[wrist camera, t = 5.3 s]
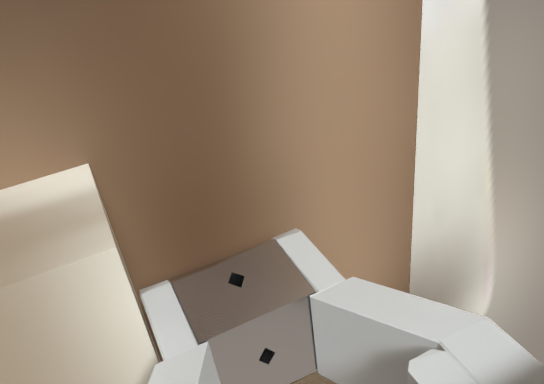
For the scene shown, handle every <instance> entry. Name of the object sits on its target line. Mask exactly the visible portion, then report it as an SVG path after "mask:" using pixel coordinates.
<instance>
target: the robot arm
mask: <svg viewBox="0 0 544 384" xmlns="http://www.w3.org/2000/svg"><path fill="white" fill-rule="evenodd" d="M139 292H140V297H141V300H142V303H143V306H144V308H145V311H146V314H147V317H148V319H149V322H150V325H151V328H152V331H153V333H154V336H155V339H156V342H157V345H158V347H159V350H160V353H161V356H162V358H163V361H162V362H160V363H158V364H155V365H154V368H153V370H152V373H151V376H150V379H149V381H148V384H290V383H292V382H294V381H297V380H299V379H301V378H303V377H305V376H307V375H310V374H312V373H314V372H316V371H318V374H320V375H322V376H324V377H326V378H328V379H329V380H331V381H333V382H335V383H337V384H544V366H543V365H542V364H541V363H540V362H539V361H538V360H537V359H535V358H534V357H533V356H532V355H531V354H530V353H528V352H527V351H526V350H525V349H524V348H523V347H522V346H520V345H519V344H518V343H517V342H516V341H515V340H514V339H513V338H511V337H510V336H509V335H508V334H507V333H506V332H504V331H503V330H502V329H501V328H500V327H499V326H498V325H496V324H495V323H494V322H493V321H492V320H491V319H490V318H488V317H485V316H482V315H478V314H475V313H472V312H468V311H465V310H462V309H459V308H455V307H452V306H449V305H445V304H442V303H439V302H435V301H432V300H429V299H426V298H422V297H419V296H416V295H412V294H409V293H406V292H402V291H399V290H396V289H393V288H389V287H386V286H383V285H379V284H376V283H373V282H369V281H366V280H363V279H360V278H356V277H351V278H349V279H347V280H346V279H345V278H344V277H343V276H342V275H341V274H340V273H339V271H338V270H337V269H336V268H335V267H334V266H333V265H332V264H331V263H330V262H329V260H328V259H327V258H326V257H325V256H324V255H323V254H322V253H321V252H320V251H319V250H318V248H317V247H316V246H315V245H314V244H313V243H312V242H311V241H310V240H309V239H308V237H307V236H306V235H305V234H304V233H303V232H302V231H301V230H299V229H297V228H295V229H293V230H290V231H288V232H285V233H283V234H281V235H278V236H276V237H273V238H272V239H271V240H268V241H265V242H263V243H260V244H258V245H255V246H253V247H250V248H248V249H245V250H243V251H240V252H238V253H235V254H233V255H231V256H228V257H226V258H223V259H220V260H218V261H215V262H212V263H210V264H207V265H204V266H202V267H199V268H196V269H193V270H191V271H188V272H185V273H183V274H180V275H177V276H175V277H172V278H169V281H168V280H165V281H163V282H160V283H157V284H155V285H152V286H149V287H147V288H144V289H141V290H139Z"/></svg>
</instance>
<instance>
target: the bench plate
mask: <svg viewBox="0 0 544 384" xmlns="http://www.w3.org/2000/svg"><path fill="white" fill-rule="evenodd" d="M421 20H422V0H0V190H2V189H5V188H8V187H12V186H15V185H18V184H22V183H25V182H28V181H32V180H35V179H38V178H41V177H45V176H48V175H51V174H55V173H58V172H61V171H64V170H68V169H71V168H74V167H78V166H81V165H84V164H89V167H90V170H91V172H92V175H93V178H94V180H95V183H96V186H97V189H98V191H99V194H100V197H101V200H102V202H103V205H104V208H105V210H106V213H107V216H108V219H109V221H110V224H111V227H112V230H113V232H114V235H115V238H116V240H117V243H118V246H119V249H120V251H121V254H122V257H123V260H124V262H125V265H126V268H127V271H128V273H129V276H130V279H131V281H132V284H133V287H134V290H135V292H136V295H137V298H138V301H139V303H140V306H141V309H142V311H143V314H144V317H145V320H146V322H147V325H148V328H149V331H150V333H151V336H152V339H153V341H154V344H155V347H156V350H157V352H158V355H159V358H160V361H161V362H162V361H163V358H162V356H161V353H160V350H159V347H158V345H157V342H156V339H155V336H154V333H153V331H152V328H151V325H150V322H149V319H148V317H147V314H146V311H145V308H144V306H143V303H142V300H141V297H140V292H139V290H141V289H144V288H147V287H149V286H152V285H155V284H157V283H160V282H163V281H165V280H168V281H169V278H172V277H175V276H177V275H180V274H183V273H185V272H188V271H191V270H193V269H196V268H199V267H202V266H204V265H207V264H210V263H212V262H215V261H218V260H220V259H223V258H226V257H228V256H231V255H233V254H235V253H238V252H240V251H243V250H245V249H248V248H250V247H253V246H255V245H258V244H260V243H263V242H265V241H268V240H271V239H272V238H273V237H276V236H278V235H281V234H283V233H285V232H288V231H290V230H293V229H295V228H297V229H299V230H301V231H302V232H303V233H304V234H305V235H306V236H307V237H308V239H309V240H310V241H311V242H312V243H313V244H314V245H315V246H316V247H317V248H318V250H319V251H320V252H321V253H322V254H323V255H324V256H325V257H326V258H327V259H328V260H329V262H330V263H331V264H332V265H333V266H334V267H335V268H336V269H337V270H338V271H339V273H340V274H341V275H342V276H343V277H344V278H345V279H346V280H347V279H349V278H351V277H356V278H360V279H363V280H366V281H369V282H373V283H376V284H379V285H383V286H386V287H389V288H393V289H396V290H399V291H402V292H406V293H409V283H410V261H411V239H412V217H413V195H414V173H415V151H416V130H417V108H418V86H419V64H420V42H421ZM307 376H308V375H307ZM305 377H306V376H305ZM303 378H304V377H303ZM301 379H302V378H301ZM299 380H300V379H299ZM297 381H298V380H297ZM294 382H296V381H294ZM294 382H292V383H294ZM292 383H290V384H292Z"/></svg>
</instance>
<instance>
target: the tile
mask: <svg viewBox="0 0 544 384" xmlns="http://www.w3.org/2000/svg"><path fill="white" fill-rule="evenodd" d="M160 362H161V361H160V358H159V355H158V352H157V350H156V347H155V344H154V341H153V339H152V336H151V333H150V331H149V328H148V325H147V322H146V320H145V317H144V314H143V311H142V309H141V306H140V303H139V301H138V298H137V295H136V292H135V290H134V287H133V284H132V281H131V279H130V276H129V273H128V271H127V268H126V265H125V262H124V260H123V257H122V254H121V251H120V249H119V246H118V243H117V240H116V238H115V235H114V232H113V230H112V227H111V224H110V221H109V219H108V216H107V213H106V210H105V208H104V205H103V202H102V200H101V197H100V194H99V191H98V189H97V186H96V183H95V180H94V178H93V175H92V172H91V170H90V167H89V164H84V165H81V166H78V167H74V168H71V169H68V170H64V171H61V172H58V173H55V174H51V175H48V176H45V177H41V178H38V179H35V180H32V181H28V182H25V183H22V184H18V185H15V186H12V187H8V188H5V189H2V190H0V384H148V381H149V379H150V376H151V373H152V370H153V368H154V365H155V364H158V363H160Z"/></svg>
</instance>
